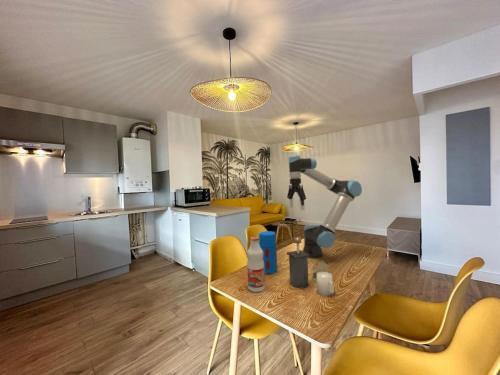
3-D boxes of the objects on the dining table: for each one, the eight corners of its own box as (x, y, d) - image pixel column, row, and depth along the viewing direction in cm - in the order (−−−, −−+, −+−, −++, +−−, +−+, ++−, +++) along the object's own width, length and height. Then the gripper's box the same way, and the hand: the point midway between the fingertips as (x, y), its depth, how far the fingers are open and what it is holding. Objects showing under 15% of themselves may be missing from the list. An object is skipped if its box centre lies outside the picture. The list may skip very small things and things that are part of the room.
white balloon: (326, 287, 112) (325, 270, 112) (339, 296, 103) (338, 278, 103) (314, 289, 110) (313, 273, 110) (326, 299, 100) (326, 281, 100)
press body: (299, 276, 126) (298, 248, 126) (312, 285, 114) (311, 255, 114) (285, 279, 123) (284, 251, 122) (296, 289, 111) (295, 258, 110)
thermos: (276, 275, 129) (274, 235, 128) (259, 274, 131) (257, 235, 130) (277, 268, 140) (276, 231, 139) (261, 267, 142) (260, 231, 141)
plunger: (300, 265, 122) (299, 235, 122) (308, 270, 115) (307, 238, 114) (289, 268, 120) (287, 237, 119) (296, 273, 112) (295, 240, 112)
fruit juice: (268, 287, 114) (266, 237, 113) (256, 294, 108) (254, 241, 107) (256, 282, 121) (254, 234, 120) (244, 288, 115) (242, 238, 114)
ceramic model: (331, 284, 114) (331, 266, 114) (310, 281, 119) (310, 264, 119) (332, 274, 127) (331, 257, 127) (313, 271, 132) (312, 256, 132)
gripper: (281, 179, 153) (282, 207, 153) (300, 177, 129) (302, 211, 130) (290, 178, 155) (291, 206, 156) (310, 177, 132) (312, 210, 132)
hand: (296, 209), depth 143 cm, fingers open, 13 cm apart
